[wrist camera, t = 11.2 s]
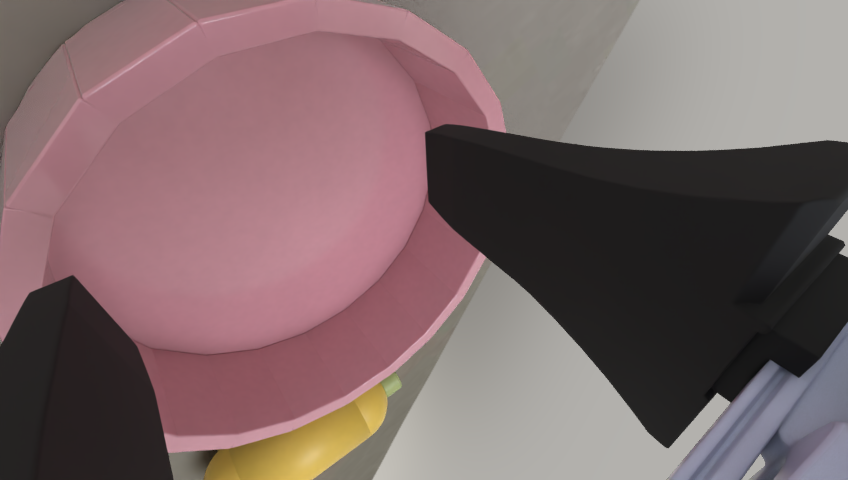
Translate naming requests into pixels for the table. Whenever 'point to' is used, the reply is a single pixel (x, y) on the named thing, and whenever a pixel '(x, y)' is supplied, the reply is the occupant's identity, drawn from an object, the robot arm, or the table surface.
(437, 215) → the pot
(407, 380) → the table surface
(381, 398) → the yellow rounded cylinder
